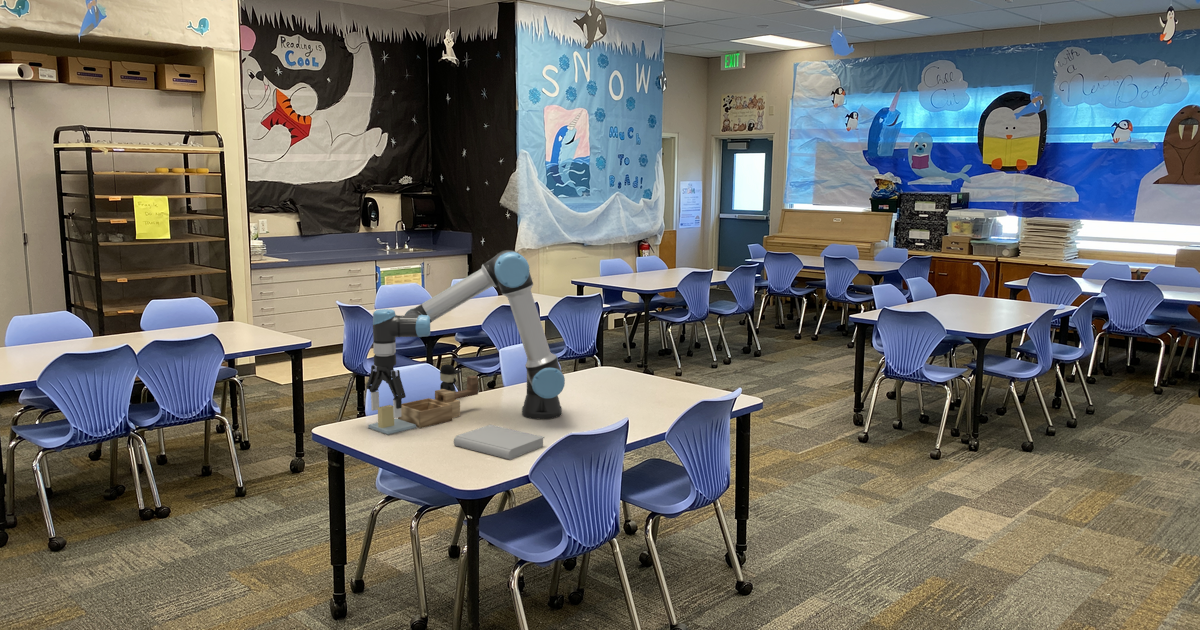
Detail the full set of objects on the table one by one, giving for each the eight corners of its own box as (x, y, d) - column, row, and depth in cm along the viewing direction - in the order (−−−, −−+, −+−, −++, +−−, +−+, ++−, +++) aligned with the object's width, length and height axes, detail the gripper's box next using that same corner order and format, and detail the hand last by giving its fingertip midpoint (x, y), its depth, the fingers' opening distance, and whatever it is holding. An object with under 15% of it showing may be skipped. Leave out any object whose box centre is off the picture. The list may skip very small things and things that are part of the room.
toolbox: (465, 417, 319) (465, 392, 317) (420, 428, 304) (420, 402, 303) (442, 410, 328) (441, 386, 327) (397, 420, 313) (397, 395, 312)
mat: (416, 428, 304) (416, 427, 304) (387, 435, 295) (387, 434, 295) (396, 421, 312) (396, 420, 312) (368, 428, 303) (368, 427, 303)
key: (478, 394, 329) (478, 376, 328) (446, 401, 318) (446, 382, 317) (473, 393, 331) (473, 375, 330) (441, 399, 320) (441, 381, 319)
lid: (416, 427, 304) (415, 405, 303) (387, 434, 295) (387, 411, 294) (396, 421, 312) (396, 399, 311) (368, 427, 303) (367, 405, 302)
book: (490, 424, 299) (544, 436, 285) (490, 434, 300) (544, 447, 286) (453, 436, 284) (508, 450, 271) (453, 447, 285) (508, 461, 271)
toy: (465, 400, 344) (465, 363, 342) (449, 404, 338) (448, 366, 336) (452, 397, 349) (452, 360, 347) (436, 400, 343) (435, 364, 340)
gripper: (415, 357, 292) (416, 418, 295) (374, 347, 309) (375, 405, 312) (396, 360, 287) (397, 422, 290) (355, 350, 303) (357, 408, 307)
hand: (386, 413), depth 301 cm, fingers open, 13 cm apart
